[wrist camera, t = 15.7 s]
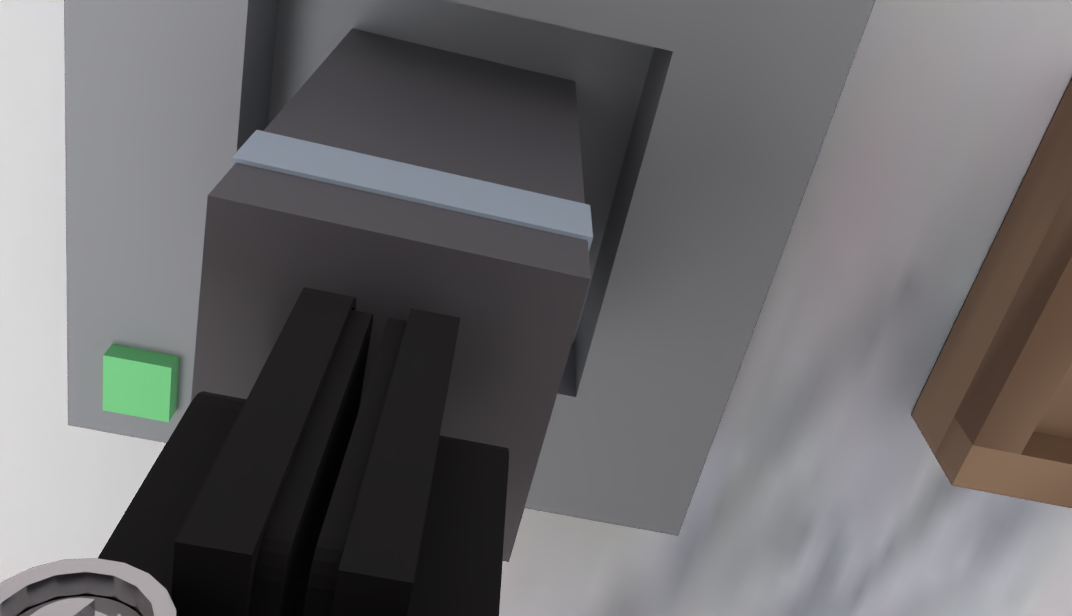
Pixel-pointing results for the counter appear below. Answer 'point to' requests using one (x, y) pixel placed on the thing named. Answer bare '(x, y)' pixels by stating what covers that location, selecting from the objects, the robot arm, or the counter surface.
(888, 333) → the counter surface
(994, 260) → the wooden tray
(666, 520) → the port
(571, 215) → the plug
